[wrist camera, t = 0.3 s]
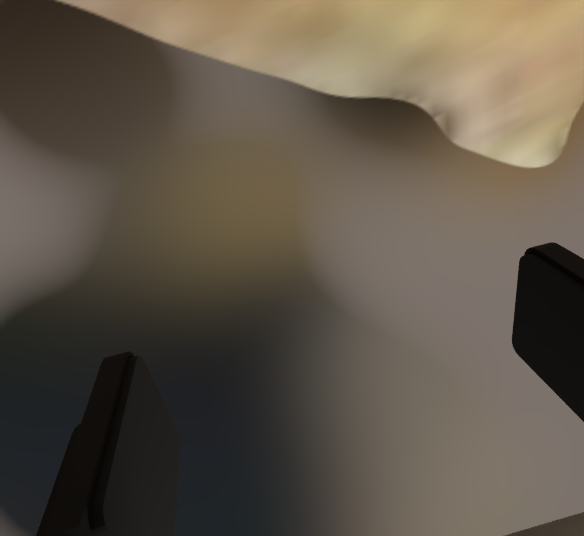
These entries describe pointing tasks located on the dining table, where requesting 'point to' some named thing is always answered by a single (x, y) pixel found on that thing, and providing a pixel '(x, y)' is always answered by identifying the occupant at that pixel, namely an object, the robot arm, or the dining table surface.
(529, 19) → the dining table surface
